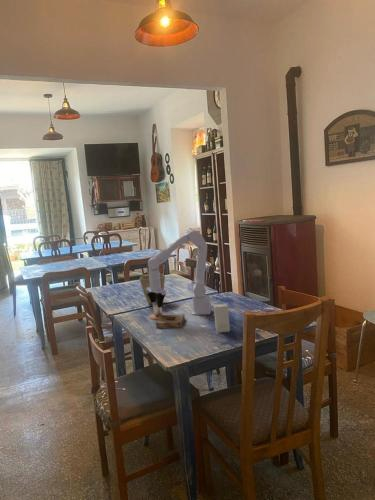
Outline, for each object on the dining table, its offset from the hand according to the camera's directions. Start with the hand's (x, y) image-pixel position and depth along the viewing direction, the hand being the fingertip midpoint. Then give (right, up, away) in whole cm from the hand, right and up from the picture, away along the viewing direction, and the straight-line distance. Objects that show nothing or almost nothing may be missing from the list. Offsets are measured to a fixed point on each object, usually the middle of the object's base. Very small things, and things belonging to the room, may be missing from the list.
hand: (157, 306), depth 199 cm
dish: (0, -6, +1) cm, 6 cm away
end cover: (+1, -4, 0) cm, 4 cm away
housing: (+8, -7, -11) cm, 15 cm away
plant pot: (-4, -2, +28) cm, 29 cm away
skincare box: (+32, -7, -27) cm, 42 cm away
